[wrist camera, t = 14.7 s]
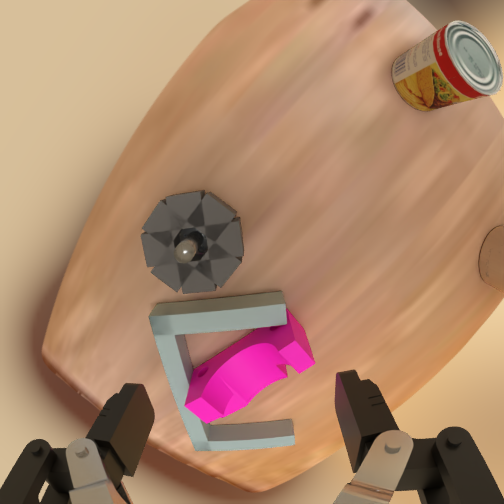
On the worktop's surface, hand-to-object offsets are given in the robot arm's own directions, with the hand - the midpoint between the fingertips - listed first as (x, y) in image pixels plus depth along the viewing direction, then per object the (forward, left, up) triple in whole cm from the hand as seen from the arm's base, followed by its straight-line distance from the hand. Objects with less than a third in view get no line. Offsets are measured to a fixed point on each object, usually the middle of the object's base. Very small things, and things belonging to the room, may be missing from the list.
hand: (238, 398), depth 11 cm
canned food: (-24, -19, -23) cm, 38 cm away
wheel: (+4, -3, -19) cm, 19 cm away
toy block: (+1, +14, -23) cm, 27 cm away
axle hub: (+4, -3, -23) cm, 23 cm away
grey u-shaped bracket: (+4, +17, -23) cm, 29 cm away
